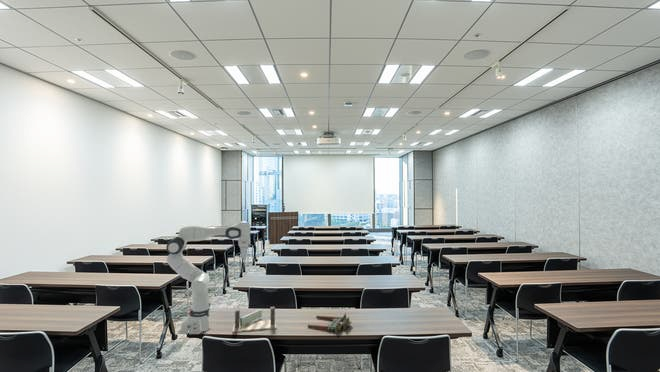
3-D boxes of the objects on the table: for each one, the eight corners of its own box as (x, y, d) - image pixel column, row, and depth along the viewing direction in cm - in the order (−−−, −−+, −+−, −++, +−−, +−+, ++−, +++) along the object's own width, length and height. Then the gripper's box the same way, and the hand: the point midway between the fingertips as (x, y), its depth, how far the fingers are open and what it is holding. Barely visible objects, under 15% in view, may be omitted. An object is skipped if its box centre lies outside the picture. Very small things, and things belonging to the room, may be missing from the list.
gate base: (232, 332, 224) (232, 314, 224) (234, 324, 237) (234, 307, 237) (276, 328, 231) (276, 310, 231) (275, 320, 244) (275, 304, 244)
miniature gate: (318, 311, 254) (354, 313, 245) (319, 318, 254) (354, 321, 245) (305, 325, 229) (344, 328, 219) (305, 332, 229) (345, 336, 219)
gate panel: (241, 326, 231) (241, 318, 231) (239, 325, 232) (239, 318, 232) (261, 316, 249) (261, 309, 249) (260, 316, 249) (260, 309, 250)
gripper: (240, 240, 247) (240, 258, 247) (239, 245, 227) (239, 264, 227) (249, 240, 249) (248, 258, 248) (248, 244, 229) (248, 263, 229)
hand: (244, 261), depth 238 cm, fingers open, 8 cm apart
